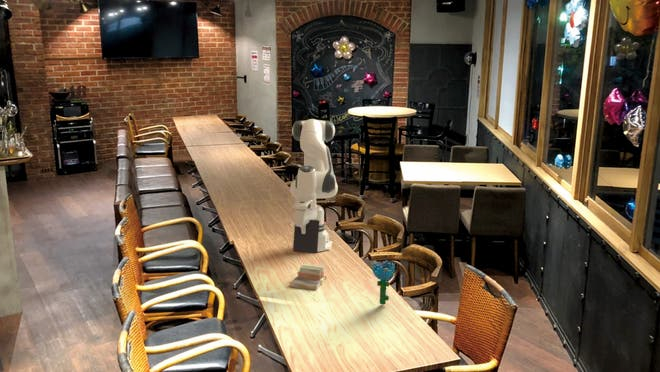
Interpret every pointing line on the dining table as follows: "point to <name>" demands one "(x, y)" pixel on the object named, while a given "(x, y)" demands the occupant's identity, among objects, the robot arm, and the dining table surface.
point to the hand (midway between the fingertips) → (306, 231)
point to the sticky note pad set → (309, 277)
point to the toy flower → (383, 278)
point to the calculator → (306, 238)
